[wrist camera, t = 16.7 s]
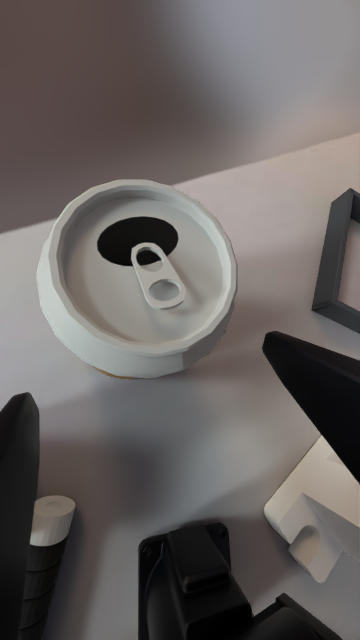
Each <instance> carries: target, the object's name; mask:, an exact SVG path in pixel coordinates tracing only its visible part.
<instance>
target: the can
mask: <svg viewBox="0 0 360 640" xmlns="http://www.w3.org/2000/svg"><path fill="white" fill-rule="evenodd" d="M36 277H37V284H38V291H39V298H40V305H41V309H42V311H43V313H44V315H45V317H46V318H47V320H48V322H49V324H50V326H51V327H52V329H53V331H54V333H55V335H56V336H57V338H58V339H59V340H60V341H61V342H62V343H63V344H64V345H66V346H67V347H68V348H69V349H70V350H71V351H72V352H74V353H75V354H76V355H77V356H78V357H79V358H80V359H82V360H83V361H84V362H85V363H87V364H90V365H92V366H94V367H96V368H98V369H101V370H103V371H106V372H108V373H110V374H113V375H115V376H125V377H139V378H156V377H159V376H163V375H167V374H171V373H175V372H179V371H183V370H185V369H186V368H188V367H189V366H191V365H192V364H194V363H195V362H197V361H198V360H200V359H201V358H203V357H204V356H206V355H207V354H209V352H210V351H211V350H212V348H213V347H214V346H215V344H216V343H217V342H218V341H219V339H220V338H221V337H222V335H223V334H224V333H225V331H226V328H227V325H228V322H229V319H230V316H231V313H232V310H233V307H234V298H235V295H236V292H237V262H236V258H235V255H234V252H233V248H232V245H231V241H230V239H229V238H228V236H227V235H226V233H225V231H224V230H223V228H222V227H221V225H220V223H219V222H218V220H217V219H216V218H215V217H214V216H213V215H212V214H211V213H210V212H209V211H208V210H207V209H206V208H205V207H204V206H203V205H202V204H200V203H199V202H198V201H197V200H196V199H194V198H192V197H190V196H188V195H187V194H185V193H183V192H181V191H180V190H178V189H176V188H174V187H171V186H168V185H164V184H160V183H156V182H153V181H149V180H116V181H113V182H109V183H106V184H102V185H99V186H96V187H92V188H91V189H89V190H88V191H86V192H85V193H83V194H82V195H80V196H79V197H77V198H76V199H74V200H73V201H72V202H70V203H69V204H68V205H67V206H66V208H65V209H64V211H63V212H62V214H61V215H60V216H59V218H58V219H57V221H56V222H55V223H54V225H53V226H52V229H51V233H50V236H49V238H48V239H47V241H46V242H45V244H44V245H43V249H42V253H41V258H40V262H39V266H38V270H37V274H36Z"/></svg>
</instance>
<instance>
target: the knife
mask: <svg viewBox="0 0 360 640" xmlns="http://www.w3.org/2000/svg"><path fill="white" fill-rule="evenodd" d="M74 509H75V503H74V501H73V500H72V499H70V498H68V497H65V496H59V495H52V496H46V497H42V498H40V499H38V500H36V501H35V506H34V514H33V522H32V531H31V539H30V548H29V556H28V564H27V573H26V581H25V590H24V598H23V607H22V615H21V623H20V632H19V640H41V636H42V633H43V630H44V626H45V622H46V618H47V614H48V609H49V606H50V602H51V599H52V595H53V591H54V587H55V581H56V579H57V575H58V572H59V568H60V564H61V559H62V555H63V552H64V548H65V544H66V540H67V536H68V533H69V529H70V525H71V521H72V517H73V513H74Z"/></svg>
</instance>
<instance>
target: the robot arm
mask: <svg viewBox="0 0 360 640" xmlns="http://www.w3.org/2000/svg"><path fill="white" fill-rule="evenodd" d="M262 350H263V353H264V355H265V356H266V358H267V359H268V361H269V363H270V364H271V366H272V368H273V369H274V371H275V372H276V374H277V376H278V377H279V379H280V380H281V382H282V383H283V385H284V386H285V387H286V389H287V390H288V391H289V393H290V394H291V395H292V396H293V398H294V399H295V400H296V402H297V403H298V404H299V406H300V407H301V408H302V410H303V411H304V412H305V414H306V415H307V416H308V418H309V419H310V420H311V421H312V423H313V424H314V425H315V427H316V428H317V429H318V431H319V432H320V433H321V435H322V436H323V437H324V439H325V440H326V441H327V443H328V444H329V445H330V446H331V448H332V449H333V450H334V452H335V453H336V454H337V456H338V457H339V458H340V460H341V461H342V462H343V464H344V465H345V466H346V468H347V469H348V470H349V471H350V473H351V474H352V475H353V477H354V478H355V479H356V481H357V482H358V483H359V485H360V361H359V360H356V359H354V358H351V357H348V356H345V355H342V354H340V353H337V352H334V351H331V350H328V349H326V348H323V347H320V346H317V345H314V344H312V343H309V342H306V341H303V340H300V339H298V338H295V337H292V336H289V335H287V334H284V333H281V332H278V331H272V332H268V333H267V334H266V335H265V339H264V343H263V346H262ZM39 457H40V443H39V410H38V407H37V405H36V403H35V401H34V399H33V397H32V395H31V394H30V393H29V392H26V393H22V394H18V395H15V396H13V397H12V398H11V399H10V400H9V402H8V403H7V404H6V405H5V406H4V408H3V409H2V410H1V411H0V640H19V632H20V623H21V615H22V607H23V598H24V590H25V581H26V573H27V564H28V556H29V548H30V539H31V531H32V522H33V514H34V506H35V497H36V489H37V480H38V472H39ZM221 530H223V533H222V534H221V535H219V532H220V531H221ZM146 547H149V550H148V551H147V552H143V550H144V548H146ZM138 640H342V639H341V638H340V637H339V636H338V635H337V634H336V633H335V632H333V631H332V630H331V629H329V628H328V627H327V626H326V625H324V624H323V623H322V622H321V621H319V620H318V619H317V618H316V617H314V616H313V615H312V614H311V613H309V612H308V611H307V610H305V609H304V608H303V607H302V606H300V605H299V604H298V603H297V602H295V601H294V600H293V599H292V598H290V597H289V596H288V595H286V594H285V593H283V594H281V595H280V596H278V597H277V598H276V602H275V603H273V604H272V605H270V606H269V607H267V608H266V609H264V610H263V611H262V612H260V613H259V614H257V615H256V616H254V614H253V613H252V609H251V605H250V604H249V602H248V600H247V599H246V597H245V595H244V594H243V592H242V590H241V588H240V587H239V585H238V583H237V582H236V580H235V578H234V577H233V575H232V573H231V561H230V547H229V533H228V529H227V528H226V526H225V525H224V524H223V523H216V524H212V525H207V526H203V525H198V526H193V527H188V528H184V529H179V530H175V531H170V532H169V534H166V535H162V536H157V537H153V538H148V539H145V540H143V541H142V542H141V543H140V545H139V549H138Z"/></svg>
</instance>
